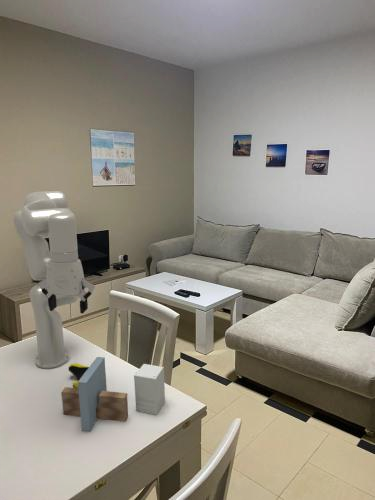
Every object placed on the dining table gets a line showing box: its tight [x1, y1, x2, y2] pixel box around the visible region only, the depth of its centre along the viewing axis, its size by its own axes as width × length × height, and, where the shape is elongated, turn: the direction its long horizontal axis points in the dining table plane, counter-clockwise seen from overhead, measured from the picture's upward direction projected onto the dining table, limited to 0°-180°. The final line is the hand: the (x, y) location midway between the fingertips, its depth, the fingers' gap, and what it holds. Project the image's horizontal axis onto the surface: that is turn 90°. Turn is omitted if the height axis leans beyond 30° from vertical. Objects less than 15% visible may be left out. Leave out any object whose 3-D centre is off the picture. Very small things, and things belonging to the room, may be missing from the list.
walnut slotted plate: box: [61, 386, 129, 422], centre depth 116 cm, size 20×2×8 cm, turn 81°
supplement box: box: [133, 363, 166, 416], centre depth 120 cm, size 7×7×13 cm
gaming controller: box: [68, 363, 90, 388], centre depth 133 cm, size 15×6×10 cm
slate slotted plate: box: [78, 356, 107, 433], centre depth 115 cm, size 14×2×16 cm, turn 171°
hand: (68, 310), depth 114 cm, fingers open, 9 cm apart
